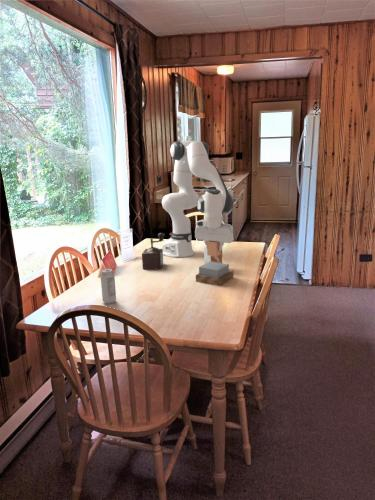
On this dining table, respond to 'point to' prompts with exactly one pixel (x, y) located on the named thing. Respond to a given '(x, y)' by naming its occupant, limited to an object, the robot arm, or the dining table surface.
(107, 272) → the energy drink can
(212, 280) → the tower base
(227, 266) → the grey square slab
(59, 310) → the dining table surface
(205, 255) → the small box
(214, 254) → the pillar block
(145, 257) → the pepper mill
